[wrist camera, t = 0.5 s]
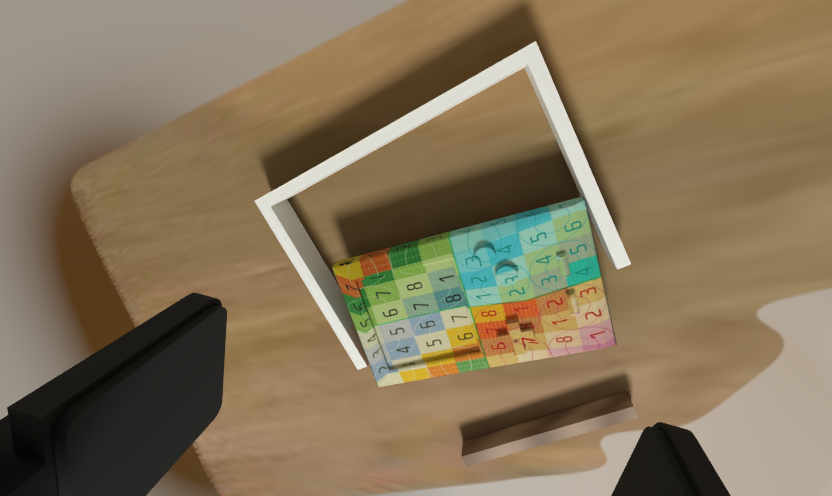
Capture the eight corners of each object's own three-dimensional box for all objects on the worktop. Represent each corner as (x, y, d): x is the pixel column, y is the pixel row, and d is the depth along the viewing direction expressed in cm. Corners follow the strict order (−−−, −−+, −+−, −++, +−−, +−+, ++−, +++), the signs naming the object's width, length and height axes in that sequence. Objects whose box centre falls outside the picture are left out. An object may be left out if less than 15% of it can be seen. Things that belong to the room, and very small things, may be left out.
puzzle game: (620, 351, 32) (375, 393, 37) (604, 321, 37) (388, 363, 42) (588, 202, 29) (327, 270, 34) (575, 190, 34) (346, 251, 39)
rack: (531, 46, 31) (535, 40, 28) (619, 251, 34) (631, 264, 31) (272, 193, 38) (254, 201, 35) (367, 351, 41) (357, 369, 38)
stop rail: (626, 391, 38) (633, 406, 36) (631, 402, 38) (638, 417, 36) (462, 441, 43) (461, 456, 41) (468, 450, 43) (467, 466, 41)
